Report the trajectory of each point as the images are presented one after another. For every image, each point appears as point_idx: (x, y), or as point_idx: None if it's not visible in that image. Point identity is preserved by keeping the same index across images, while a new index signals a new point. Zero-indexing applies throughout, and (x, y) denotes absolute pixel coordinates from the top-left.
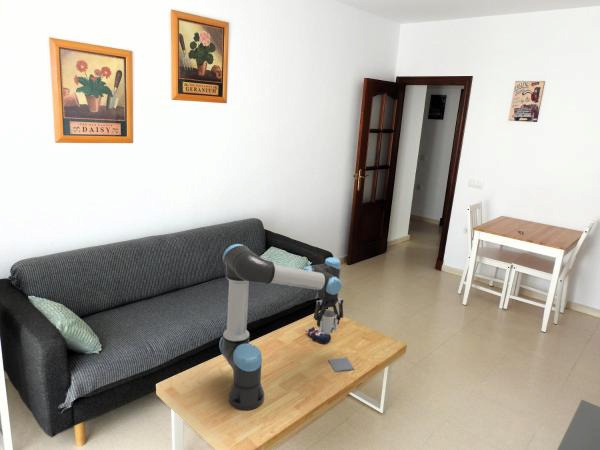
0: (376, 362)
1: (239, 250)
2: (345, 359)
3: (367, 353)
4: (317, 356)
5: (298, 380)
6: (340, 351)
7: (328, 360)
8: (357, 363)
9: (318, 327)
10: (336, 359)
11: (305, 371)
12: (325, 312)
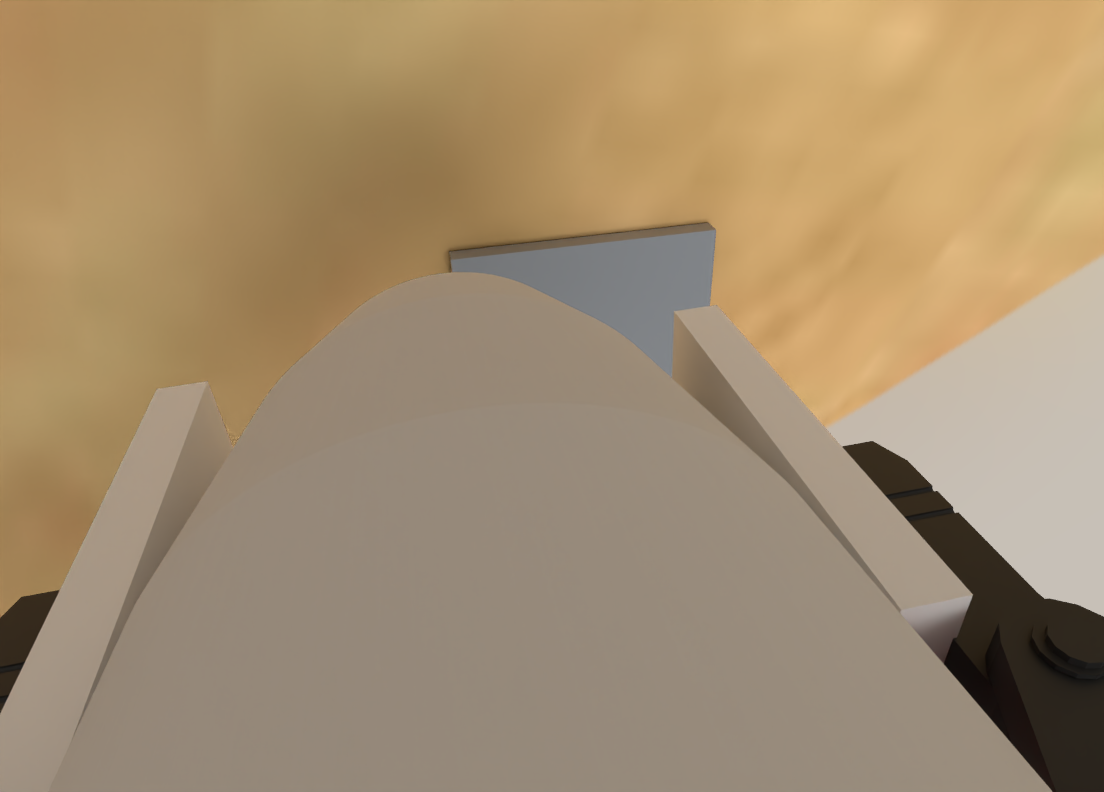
0: (987, 315)
1: None
2: (679, 273)
3: (1027, 118)
4: (304, 119)
5: (32, 583)
6: (708, 11)
7: (451, 263)
8: (785, 323)
9: (130, 488)
10: (563, 266)
11: (110, 448)
12: (472, 740)
